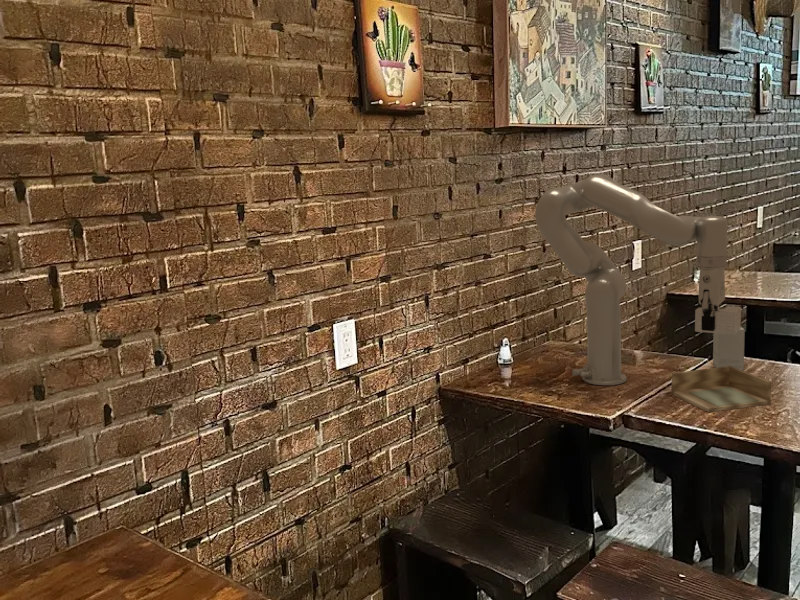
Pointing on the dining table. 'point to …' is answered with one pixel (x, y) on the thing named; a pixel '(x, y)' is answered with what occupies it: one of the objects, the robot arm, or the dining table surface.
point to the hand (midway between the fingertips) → (710, 328)
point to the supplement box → (729, 350)
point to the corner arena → (721, 388)
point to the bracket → (721, 320)
